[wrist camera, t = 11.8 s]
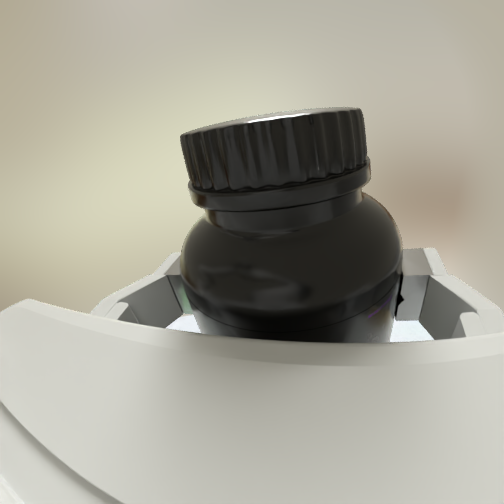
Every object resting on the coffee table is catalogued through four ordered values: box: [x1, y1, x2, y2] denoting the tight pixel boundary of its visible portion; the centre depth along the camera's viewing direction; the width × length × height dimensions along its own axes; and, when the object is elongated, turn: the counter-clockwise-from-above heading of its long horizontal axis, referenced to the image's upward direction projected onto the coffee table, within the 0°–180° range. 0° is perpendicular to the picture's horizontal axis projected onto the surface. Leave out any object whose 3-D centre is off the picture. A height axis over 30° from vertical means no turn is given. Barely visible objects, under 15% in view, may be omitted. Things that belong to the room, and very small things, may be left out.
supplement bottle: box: [179, 107, 403, 343], centre depth 9 cm, size 7×7×12 cm
